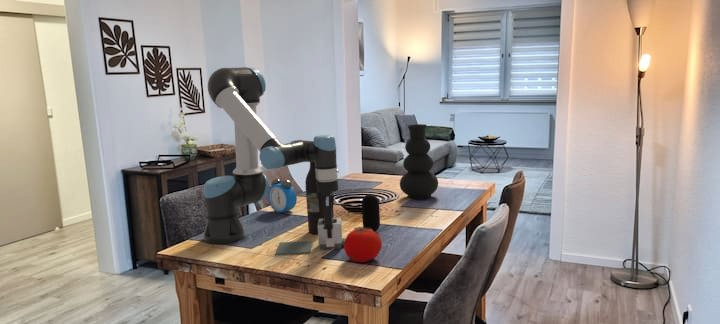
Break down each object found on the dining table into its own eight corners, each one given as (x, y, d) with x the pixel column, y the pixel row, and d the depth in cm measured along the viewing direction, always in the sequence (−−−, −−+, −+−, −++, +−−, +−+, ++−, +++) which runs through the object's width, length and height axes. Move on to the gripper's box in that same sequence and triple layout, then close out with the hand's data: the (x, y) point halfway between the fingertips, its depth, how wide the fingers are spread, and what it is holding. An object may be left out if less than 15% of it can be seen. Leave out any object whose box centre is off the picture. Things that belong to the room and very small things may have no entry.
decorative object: (378, 229, 198) (376, 191, 195) (382, 234, 191) (380, 195, 189) (361, 230, 197) (359, 193, 194) (364, 235, 190) (362, 196, 188)
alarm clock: (268, 211, 234) (265, 179, 231) (278, 208, 239) (275, 177, 236) (288, 214, 226) (286, 181, 224) (298, 211, 231) (296, 179, 228)
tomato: (350, 253, 173) (349, 223, 171) (385, 254, 169) (384, 224, 167) (340, 265, 162) (338, 233, 160) (377, 267, 158) (375, 234, 157)
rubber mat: (275, 255, 174) (274, 253, 174) (279, 244, 186) (279, 242, 186) (309, 253, 174) (309, 251, 174) (312, 242, 186) (312, 240, 186)
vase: (444, 194, 248) (442, 123, 242) (428, 203, 233) (426, 127, 227) (410, 191, 258) (408, 123, 252) (393, 200, 243) (390, 127, 237)
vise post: (320, 249, 177) (318, 219, 175) (321, 242, 185) (319, 213, 183) (373, 247, 177) (372, 216, 175) (372, 239, 185) (371, 210, 183)
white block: (318, 244, 177) (317, 225, 176) (320, 237, 185) (319, 218, 184) (341, 243, 177) (340, 223, 176) (342, 236, 185) (341, 217, 184)
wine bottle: (306, 230, 201) (301, 155, 196) (323, 227, 203) (318, 153, 199) (311, 235, 194) (306, 158, 189) (329, 232, 197) (324, 156, 192)
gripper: (336, 185, 167) (340, 251, 171) (338, 173, 188) (342, 232, 191) (314, 186, 167) (318, 252, 171) (318, 174, 187) (322, 234, 191)
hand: (330, 242), depth 181 cm, fingers closed on white block, 8 cm apart
